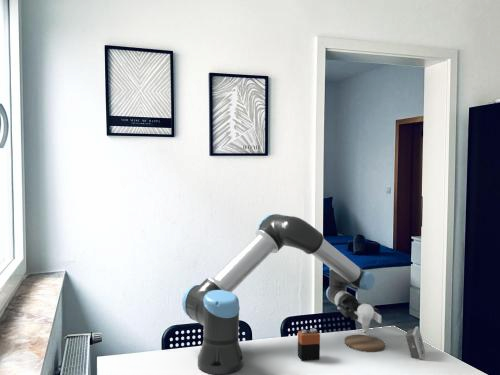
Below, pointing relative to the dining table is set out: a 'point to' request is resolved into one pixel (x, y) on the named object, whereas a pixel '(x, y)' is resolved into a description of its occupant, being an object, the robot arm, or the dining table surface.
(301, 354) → the battery
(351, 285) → the robot arm
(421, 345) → the electrical switch
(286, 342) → the dining table surface
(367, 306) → the lightbulb
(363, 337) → the board
